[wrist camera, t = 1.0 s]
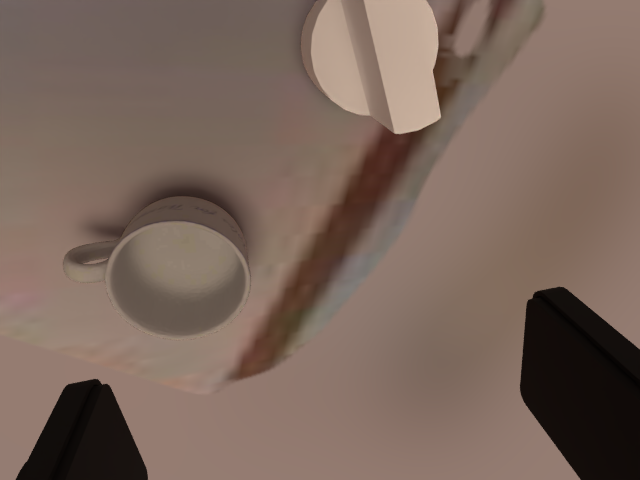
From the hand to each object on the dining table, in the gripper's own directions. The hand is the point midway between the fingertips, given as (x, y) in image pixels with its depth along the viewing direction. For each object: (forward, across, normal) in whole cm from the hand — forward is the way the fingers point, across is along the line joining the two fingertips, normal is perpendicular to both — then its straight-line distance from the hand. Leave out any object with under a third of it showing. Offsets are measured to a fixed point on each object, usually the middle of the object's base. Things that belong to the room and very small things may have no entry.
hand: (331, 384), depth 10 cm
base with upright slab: (+32, -8, -5) cm, 33 cm away
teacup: (+32, +10, +9) cm, 34 cm away
